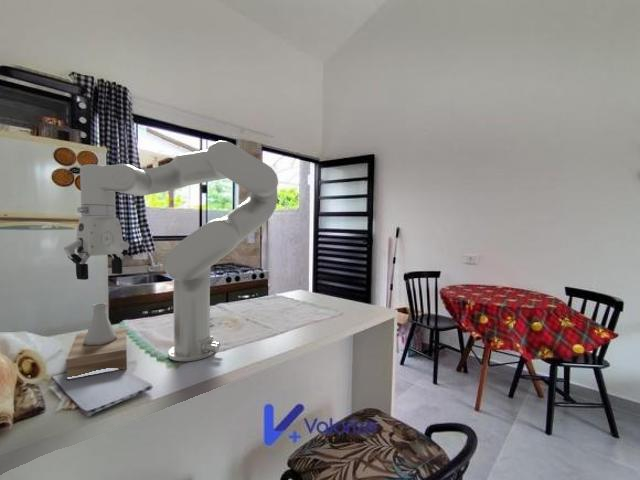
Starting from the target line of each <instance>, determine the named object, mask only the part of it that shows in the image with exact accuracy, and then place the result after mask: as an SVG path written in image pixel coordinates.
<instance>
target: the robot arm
mask: <svg viewBox="0 0 640 480" xmlns="http://www.w3.org/2000/svg"><path fill="white" fill-rule="evenodd" d="M278 177H279V176H278V175H277V172H276V171H275V170H274V169H273V168H272V167H271V166H270V165H268V164H267V163H265V162H263V161H262V160H260V159H258V158H257V157H256V156H253V155H252V154H250V153H249V152H247V151H246V150H244V149H242V148H241V147H239V146H237V145H235V144H234V143H232V142H231V141H227V140H218V141H215V142H213V143H212V144H211V145H209V147H207V149H204V150H200V151H199V150H198V151H193V152H187V153H186V152H185V153H181V154H178V155H176V156H175V157H174V158H172V160H171V161H170V162H169V163H165V164H164V165H161V166H160V165H159V166H155V167H149V168H144V169H142V168H141V169H140V168H137V167H135V166H133V165H131V164H126V163H118V164H117V163H116V164H111V165H110V164H109V165H102V164H95V163H94V164H92V163H91V164H90V163H89V164H88V163H87V164H83V165H82V166H81V167H80V169H79V178H80V204H81V205H80V206H79V207H77V209H76V211H77V212H78V213H80V214H81V216H80V217H79V218H78V222H77V228H76V239H75V241H73V242H71V243H70V244H68V245H67V246H65V247H63V250H64V252H65V253H66V255H67V256H68V257H67V258H68V259H69V260H70V261H72V263H73V264H75V275H76V279H77V280H83V281H84V280H85V281H86V280H89V264H88V263H87V261H88V260H89V258H90V257H99V256H100V257H101V256H108V255H110V256H111V257H112V259H111V274H115V275H122V274H123V260H124V259H125V257H126V255H127V254H128V250H129V249H130V245H131V244H130V243H129V242H127V241H125V240H124V239H123V232H122V231H123V230H122V225H121V222H120V219H119V217H116V215H117V214H116V210H117V209H116V192H117V193H121V194H126V195H132V196H136V197H137V196H138V197H141V196H149V195H155V194H160V193H165V192H170V191H172V190H174V191H175V190H176V189H180V188H181V189H182V188H185V187H188V186H193V185H198V184H204V183H208V182H214V181H219V180H220V181H221V180H224V179H228V180H229V181H232V183H235V184H236V185H238V186H240V187H241V188H243V189H245V190H246V191H248V192H249V195H248V197H247V199H246V200H245V201H243V202H242V203H241V204H239V205H237V206H236V207H235V208H234V209H233V210H231V211H230V212H227V214H225V215H224V216H222V217H219V218H215V219H212V220H209V221H208V222H206V223H204V224H203V225H202V226H199V227H198V228H197V229H196V230H195V231H193V232H192V233H190V234H189V235H188V236H186V237H185V238H183V239H182V240H180V241H179V242H178V243H177V244H175V245H174V246H172V247H170V249H168V251H167V253H166V254H165V256H164V259H163V268H164V271H165V272H166V274H167V275H168V277H170V278H172V280H173V346H172V347H170V348H169V349H168V351H167V357H168V358H169V359H170V360H172V361H174V362H194V361H200V360H202V359H206V358H208V357H210V356H212V355H213V354H214V353H218V352H219V350H220V347H221V342H218V341H214V336H213V335H211V312H210V311H211V306H210V305H211V304H210V300H211V295H210V294H211V268H212V266H213V265H215V264H217V263H218V262H219V261H220V260H222V259H224V257H226V256H227V255H228V254H230V253H231V252H232V251H234V250H235V248H236V247H237V246H238V245H239V244H240V243H242V241H244V240H246V238H248V237H249V236H250V235H252V234H253V233H255V231H257V230H258V229H260V227H262V226H264V224H265V223H267V221H268V220H269V219H270V218H271V217H272V216H273V214H274V212H275V210H276V207H277V203H278V197H279V196H278V186H279V185H278V184H279V178H278ZM75 250H76V251H75Z"/></svg>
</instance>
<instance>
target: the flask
mask: <svg viewBox="0 0 640 480" xmlns="http://www.w3.org/2000/svg"><path fill="white" fill-rule="evenodd" d="M91 307H92V308H93V313H92V314H93V315H92V319H91V322H90V325H89V327H88V330H87V332H86V333H87V334H86V337H85V339H84V342H83V343H84V344H87V345H101V344H105V343H108V342H111V341H113V340H115V339H116V338H118V337H117V335H116V333H115V331H114V329H115V328H113V326H112V323H111V320H110V319H109V316H108V312H107V307H108V303H105V302H100V303H95V304H92V305H91Z"/></svg>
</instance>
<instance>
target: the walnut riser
mask: <svg viewBox="0 0 640 480" xmlns="http://www.w3.org/2000/svg"><path fill="white" fill-rule="evenodd" d="M113 329H114V331H115V333H116V335H117V337H118V338H116V339H115V340H113V341H111V342H108V343H105V344H101V345H87V344H84V343H83V342H84V339H85V337H86V334H87V332H80V333H77V334H76V335H75V338H74V340H73V343H72V345H71V347H70V350H69V351H68V354H67V356H66V360H65V362H66V363H65V368H66V378H67V377H72V376H78V375H81V374H85V373H89V372H92V371H96V370H101V369H106V368H118V369H124V370H127V369H128V360H127V359H128V358H127V357H128V355H127V353H128V352H127V350H128V349H127V347H128V346H127V326H126V327H119V328H113Z"/></svg>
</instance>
